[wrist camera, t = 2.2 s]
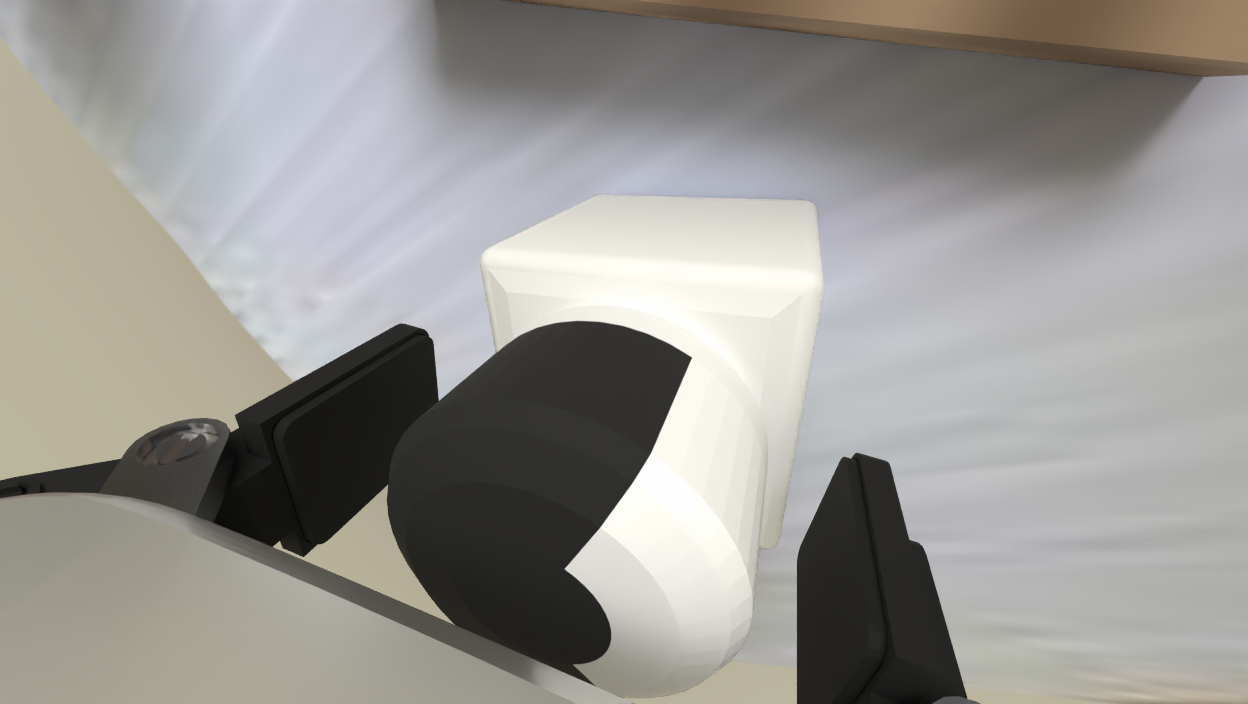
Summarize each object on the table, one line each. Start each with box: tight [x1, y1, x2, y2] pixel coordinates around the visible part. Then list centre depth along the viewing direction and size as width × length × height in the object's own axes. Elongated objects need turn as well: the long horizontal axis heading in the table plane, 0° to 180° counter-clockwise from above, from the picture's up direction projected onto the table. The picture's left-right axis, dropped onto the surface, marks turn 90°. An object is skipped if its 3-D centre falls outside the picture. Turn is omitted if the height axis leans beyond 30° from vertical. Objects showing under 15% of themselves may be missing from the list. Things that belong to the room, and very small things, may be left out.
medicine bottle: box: [387, 194, 824, 698], centre depth 12 cm, size 7×7×12 cm
